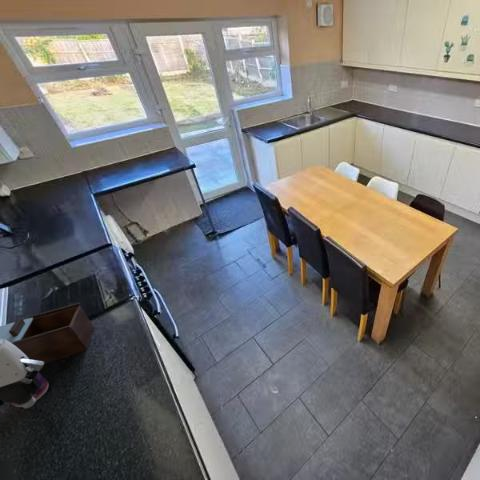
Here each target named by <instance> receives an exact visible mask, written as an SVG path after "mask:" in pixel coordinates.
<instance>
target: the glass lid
mask: <svg viewBox="0 0 480 480" xmlns="http://www.w3.org/2000/svg"><path fill="white" fill-rule="evenodd" d="M33 319H34V318H33V317H32V318H28V317H27V318H25V319H23V318H22V317H20V318H17V319H16V320H15V321H14V322H11V323H7V324H3V325H0V339H5V340H7V341H9V342H10V343H12V342H15V341H19V340H21V339H22V338H23V336H24V334H25V332H26V331H27V329H28V327H29V326H30V324H31V322H32V321H33Z"/></svg>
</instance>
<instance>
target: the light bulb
mask: <svg viewBox="0 0 480 480" xmlns="http://www.w3.org/2000/svg"><path fill="white" fill-rule="evenodd" d="M0 400H1V401H3V402H5V403H7V404H12V403H16V404H19V405H21V406H22V407H21V408H23V409H29V408H31V407H33V406H34V404H35V403H36V402H37V401H36V400H35V398H34V397H33V396H32V394H31V393H30V392H29V391H28V389H27V388H26V387H25V383H24V382H22V381H17V382H14V383H11V384H8V385H5V386H2V387H0Z"/></svg>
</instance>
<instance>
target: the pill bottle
mask: <svg viewBox="0 0 480 480" xmlns="http://www.w3.org/2000/svg"><path fill="white" fill-rule="evenodd" d="M27 368H29V369H31V370H32V369H33V368H30V367H27ZM26 376H28V375H26ZM36 377H37V379H38V380H39V381H40V382H41V386H40V387H39V389H38V391H37V393H36V394H34V395H33V394H32V396H33V397H34V398H35V400H36V402H37V401H38V400H40V399H41V398H42V397H43V396H44V395H45V394H46V393H47V391H48V389H49V386H50V384H49V382H48V380H47V379H46V378H45V377H44V375H42V373H40V371H39V372H38V373H37V375H36ZM11 405H13V406H14V407H16V408H23V407H22V406H21V405H19V404H16V403H11Z"/></svg>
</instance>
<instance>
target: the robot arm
mask: <svg viewBox="0 0 480 480" xmlns="http://www.w3.org/2000/svg"><path fill="white" fill-rule="evenodd" d="M44 363H45V362H43V361H37V360H31V359H29V358H28V357H27V356H26V355H25V354H24V353H23V352H22V351H21V350H20V349H18V348H17V347H16V346H15V345H13V344H12V343H10V342H9V341H7V340H5V339H0V387H2V386H5V385H8V384H11V383H14V382H17V381H22V382H24V383H25V387H26V388H27V389H28V391H29V392H30V393H31V394H33V395H34V394H36V393H37V391H38V389H39V387H40V386H41V382H40V381H39V380H38V379H37V377H36V375H37V373H38V372H39V373H40V371H41V370H42V368H43V367H44V365H45V364H44ZM27 367H30V368H33V369H32V370H31V369H29V368H27ZM26 375H28V376H26ZM5 403H6V402H3V401H1V400H0V407H2V406H4V405H5Z"/></svg>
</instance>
